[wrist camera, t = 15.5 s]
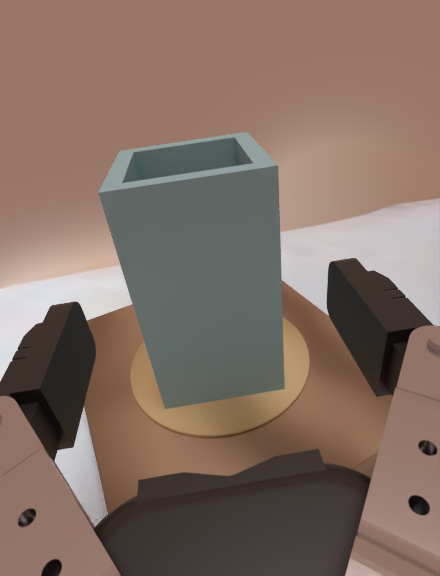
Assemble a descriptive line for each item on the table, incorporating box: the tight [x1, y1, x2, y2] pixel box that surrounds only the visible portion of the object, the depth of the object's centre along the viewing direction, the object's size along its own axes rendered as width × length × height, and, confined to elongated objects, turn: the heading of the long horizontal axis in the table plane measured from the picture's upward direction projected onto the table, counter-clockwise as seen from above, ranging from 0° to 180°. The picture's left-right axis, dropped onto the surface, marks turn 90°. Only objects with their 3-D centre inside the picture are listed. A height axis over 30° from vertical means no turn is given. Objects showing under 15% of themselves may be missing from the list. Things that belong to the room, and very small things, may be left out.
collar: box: [99, 132, 285, 409], centre depth 18 cm, size 6×6×11 cm
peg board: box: [84, 280, 393, 514], centre depth 19 cm, size 15×17×12 cm
